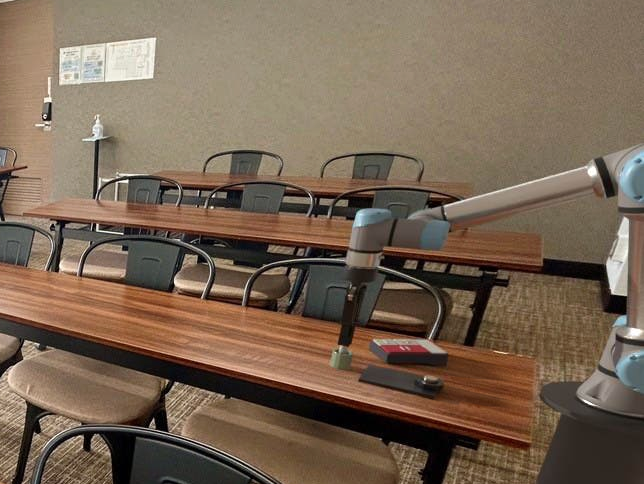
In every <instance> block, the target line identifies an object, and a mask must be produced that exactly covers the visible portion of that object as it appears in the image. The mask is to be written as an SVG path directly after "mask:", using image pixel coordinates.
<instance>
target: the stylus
mask: <svg viewBox="0 0 644 484" xmlns="http://www.w3.org/2000/svg"><path fill="white" fill-rule="evenodd" d="M338 349H339V354H345V355H346V353H347V350H348V349H349V347H346V346H341V345H339V348H338Z"/></svg>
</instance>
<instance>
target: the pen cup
mask: <svg viewBox="0 0 644 484" xmlns="http://www.w3.org/2000/svg"><path fill="white" fill-rule="evenodd" d="M339 349H340V348H334V349H332V353H331V357H330V362H329V366H330V367H331V368H334V369H337V370H342V371H347V370H350V369H351V367H352V363H353V358H354V352H353V351H352V350H349V349H347V353H346V355H345V354H339Z"/></svg>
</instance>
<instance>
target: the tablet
mask: <svg viewBox="0 0 644 484" xmlns="http://www.w3.org/2000/svg"><path fill="white" fill-rule="evenodd" d="M424 376H425V375H419V374H415V373H410V372H406V371H400V370H395V369H391V368H387V367H381V366H378V365H377V366H376V365H373V364H372V365H371V364H368V366H366V368H365V370H364V371H363V372H362V374H361V375H360V376H359V377H358V380H357V382H358V383H363V384H367V385H371V386H375V387H379V388H383V389H387V390H391V391H396V392H399V393H404V394H408V395H413V396H417V397H422V398H425V399H431V400H435V397H436V396H437V393H438V391H442V390H443V389H444V386H445V381H443V380H442V379H439V378H438V380H437V383H436V384H430V383H426V382H424V381H423V378H424Z"/></svg>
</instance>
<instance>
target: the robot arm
mask: <svg viewBox="0 0 644 484" xmlns="http://www.w3.org/2000/svg"><path fill="white" fill-rule="evenodd" d="M613 197H617V214H618V215H620V216H622V217H624V218H626V219H627V220H628V241H627V242H628V245H627V251H628V252H627V282H626V283H627V285H626V286H627V287H626V288H627V289H626V314H624V315H621V316H618V317H617V319H616V320H615V322H614V324H613V325H612V326H611V328H612V329H611V332H610V335H609V337H608V340H607V342H606V345H605V348H604V350H603V353H602V355H601V358H600V360H599V363H598V365H597V367H596V370H595V371H594V372H593V373H592V374H591V375H590V376H588V377H587V378H586V379H585V380H584V381H583V382H584V383H583V384H582V385H581V386H580V387H579V388H578V390H577V392H576V394H575V398H576V399H577V400H578V401H579V402H580V403H582V404H584V405H586V406H588V407H590V408H593V409H595V410H598V411H601V412H604V413H608V414H611V415H615V416H620V417H624V418H630V419H637V420H644V142H643V143H639V144H637V145H634V146H631V147H628V148H625V149H622V150H619V151H616V152H612V153H609V154H607V155H604V156H600V157H596V158H592V159H590V160H589V162H587V164H585V165H583V166H581V167H577V168H573V169H569V170H566V171H563V172H557V173H556V174H551V175H547V176H544V177H541V178H537V179H533V180H529V181H526V182H523V183H520V184H516V185H512V186H508V187H505V188H502V189H497V190H494V191H490V192H487V193H484V194H483V193H482V194H479V195H476V196H472V197H469V198H465V199H461V200H458V201H455V202H451V203H447V204H444V205H441V206H437V207H433V208H425V209H424V208H423V209H420V210H416V211H414V212H413V213H411V214H410V215H409V216H408V217H407V218H397V217H392V211H391V210H389V209H386V208H377V207H376V208H374V207H373V208H372V207H371V208H363V209H360V210H358V211H357V212H356V215H355V218H354V221H353V225H352V226H351V233H350V240H349V244H348V249H347V251H346V257H345V261H344V263H345V265H344V268H343V272H342V279H344V280H346V281H349V282H350V283H349V285H347V286H346V290H345V292H346V293H345V294H344V301H343V308H342V313H341V320H340V321H339V322H338V325H341V327H340V331H339V336H338V339H337V346H340V345H341V346H346V347H348V348H349V347H350V346H351V345H352V343H353V340H354V339H353V338H354V336H355V335H354V334H355V330H356V325H357V323H361V319H359V318H360V314H361V310H362V306H363V302H364V299H365V295H366V292H367V290H368V283H374V282H376V280H377V278H378V274H379V266H380V264H381V260H385V256H384V255H383V252H384V247H388V248H399V249H400V248H401V249H409V250H410V249H413V250H422V251H441V250H443V249H444V248H445V247H446V242H447V238H448V235H449V234H450V233H453V232H458V231H462V230H465V229H469V228H475V227H478V226H482V225H486V224H490V223H494V222H498V221H502V220H507V219H511V218H514V217H519V216H523V215H527V214H530V213H534V212H539V211H542V210H546V209H550V208H555V207H558V206H562V205H568V204H571V203H576V202H579V201H582V200H587V199H591V198H592V199H593V198H600V199H603V200H606V199H610V198H613ZM366 283H367V284H366Z"/></svg>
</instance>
